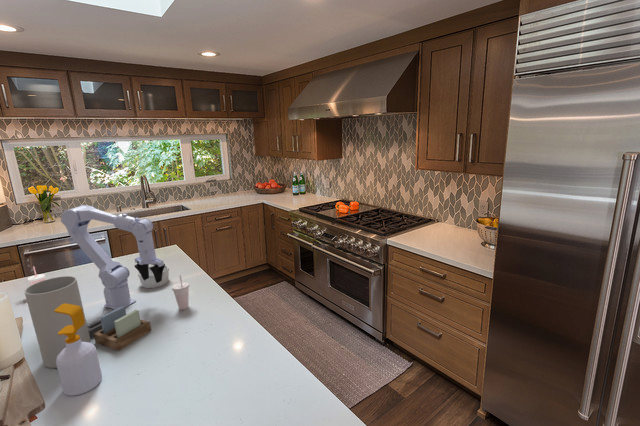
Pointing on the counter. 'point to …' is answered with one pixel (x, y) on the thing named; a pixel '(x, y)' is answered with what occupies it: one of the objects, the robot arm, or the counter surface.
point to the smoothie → (181, 294)
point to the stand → (94, 328)
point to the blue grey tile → (111, 318)
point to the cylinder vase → (53, 314)
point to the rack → (118, 344)
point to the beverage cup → (36, 278)
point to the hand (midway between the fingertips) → (152, 280)
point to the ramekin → (151, 280)
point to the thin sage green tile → (127, 323)
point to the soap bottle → (77, 356)
